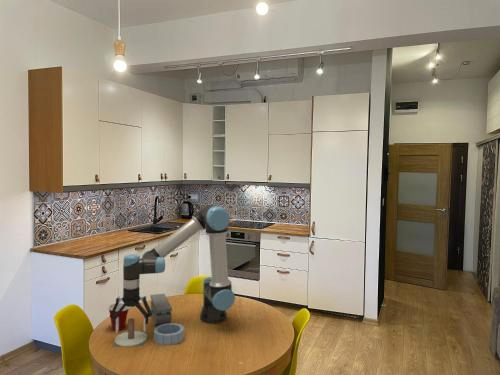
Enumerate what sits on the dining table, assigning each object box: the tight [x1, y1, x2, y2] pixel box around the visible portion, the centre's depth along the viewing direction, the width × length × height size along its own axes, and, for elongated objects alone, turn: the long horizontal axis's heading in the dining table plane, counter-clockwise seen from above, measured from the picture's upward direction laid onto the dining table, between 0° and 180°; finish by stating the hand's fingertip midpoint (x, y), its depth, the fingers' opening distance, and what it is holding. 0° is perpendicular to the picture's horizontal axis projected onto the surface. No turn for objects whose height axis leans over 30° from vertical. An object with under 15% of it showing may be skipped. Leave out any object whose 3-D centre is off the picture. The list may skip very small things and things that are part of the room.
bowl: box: [153, 322, 185, 346], centre depth 180 cm, size 14×14×5 cm
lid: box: [114, 317, 148, 348], centre depth 178 cm, size 15×15×10 cm
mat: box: [112, 332, 149, 348], centre depth 179 cm, size 14×14×1 cm
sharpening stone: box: [149, 293, 173, 326], centre depth 202 cm, size 25×8×11 cm, turn 22°
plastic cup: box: [107, 302, 131, 331], centre depth 191 cm, size 11×11×12 cm
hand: (131, 330), depth 178 cm, fingers open, 12 cm apart
